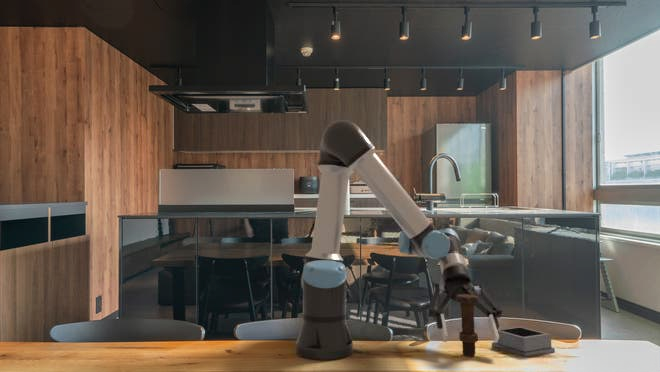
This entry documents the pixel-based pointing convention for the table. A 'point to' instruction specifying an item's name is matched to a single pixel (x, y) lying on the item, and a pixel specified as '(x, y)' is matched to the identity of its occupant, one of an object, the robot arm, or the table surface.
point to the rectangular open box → (524, 341)
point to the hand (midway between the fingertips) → (471, 339)
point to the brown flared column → (468, 323)
